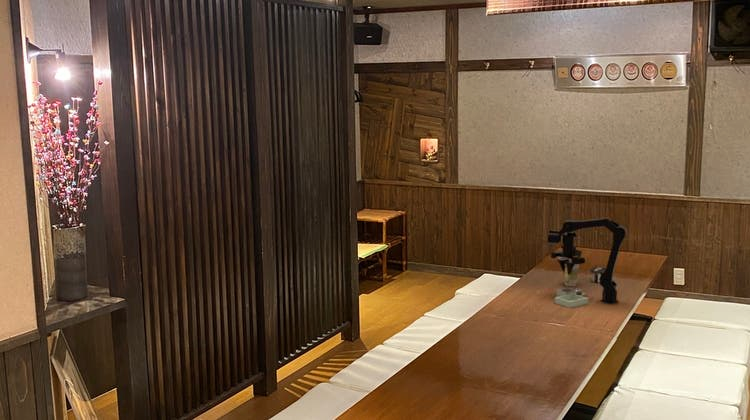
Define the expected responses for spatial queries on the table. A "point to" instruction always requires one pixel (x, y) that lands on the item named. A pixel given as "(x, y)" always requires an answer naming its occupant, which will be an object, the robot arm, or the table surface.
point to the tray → (571, 300)
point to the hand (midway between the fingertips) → (567, 273)
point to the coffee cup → (573, 276)
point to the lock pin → (566, 274)
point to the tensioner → (570, 292)
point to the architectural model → (597, 273)
